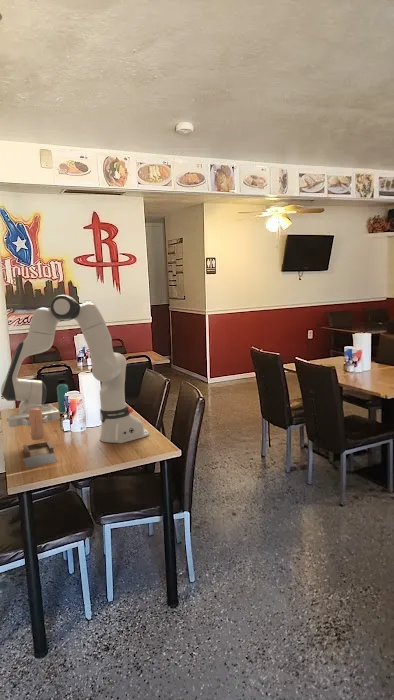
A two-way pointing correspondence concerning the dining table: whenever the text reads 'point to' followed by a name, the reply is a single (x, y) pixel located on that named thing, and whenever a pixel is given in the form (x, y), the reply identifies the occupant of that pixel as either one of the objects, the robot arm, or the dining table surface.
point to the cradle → (38, 448)
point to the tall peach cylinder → (36, 423)
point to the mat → (39, 460)
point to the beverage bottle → (61, 394)
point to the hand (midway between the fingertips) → (36, 422)
